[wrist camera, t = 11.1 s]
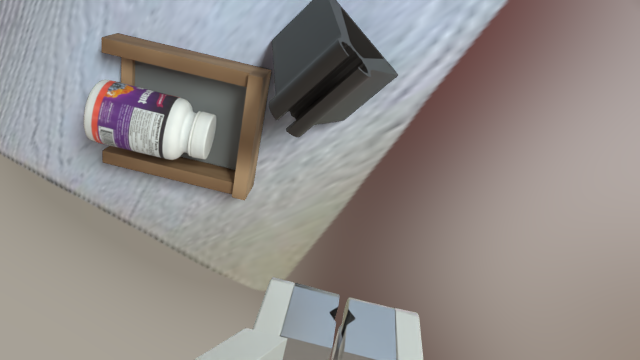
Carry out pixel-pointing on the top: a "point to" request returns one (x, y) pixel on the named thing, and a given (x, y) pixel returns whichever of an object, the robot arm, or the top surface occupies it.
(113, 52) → the tray
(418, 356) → the robot arm
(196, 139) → the pill bottle
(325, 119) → the phone stand
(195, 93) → the mat
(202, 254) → the top surface
